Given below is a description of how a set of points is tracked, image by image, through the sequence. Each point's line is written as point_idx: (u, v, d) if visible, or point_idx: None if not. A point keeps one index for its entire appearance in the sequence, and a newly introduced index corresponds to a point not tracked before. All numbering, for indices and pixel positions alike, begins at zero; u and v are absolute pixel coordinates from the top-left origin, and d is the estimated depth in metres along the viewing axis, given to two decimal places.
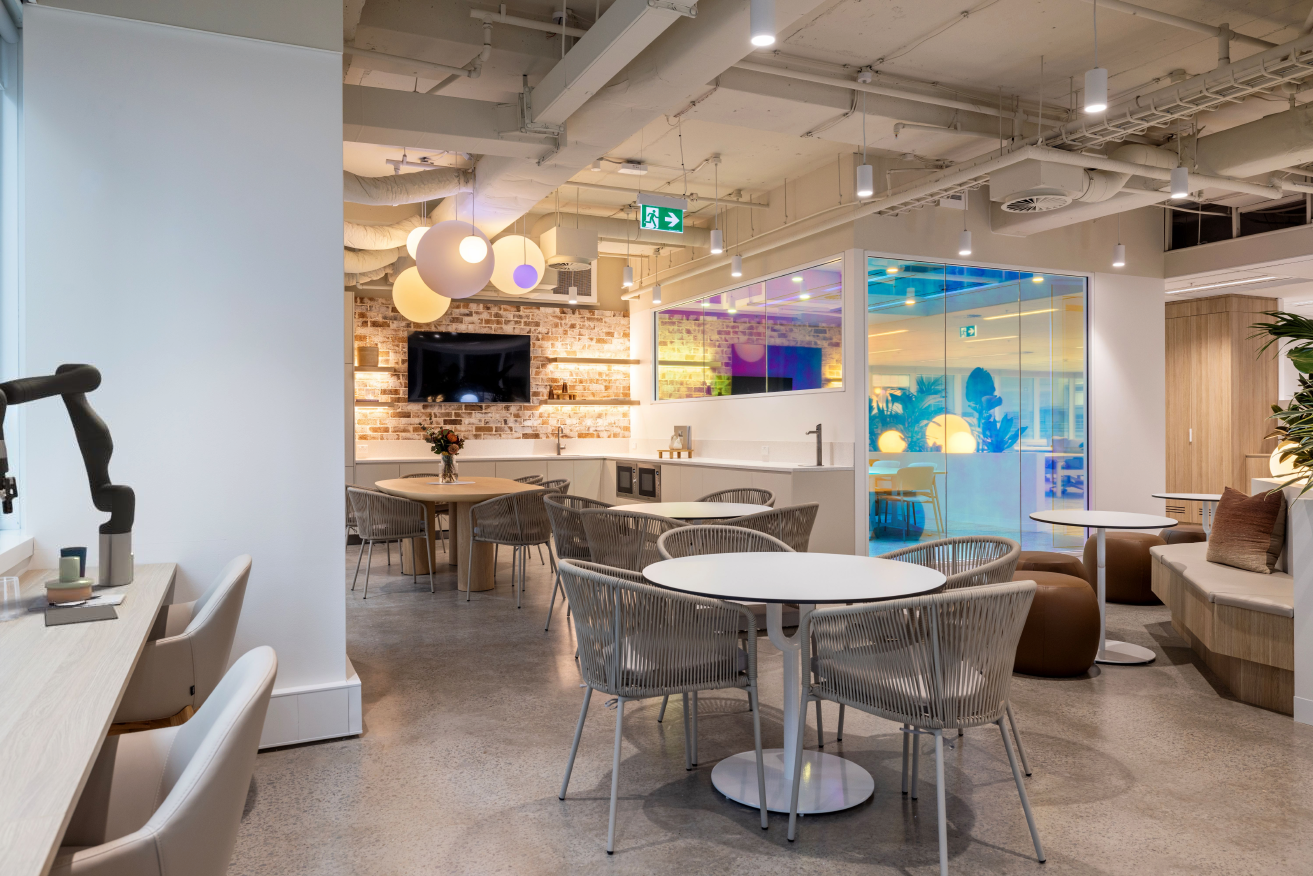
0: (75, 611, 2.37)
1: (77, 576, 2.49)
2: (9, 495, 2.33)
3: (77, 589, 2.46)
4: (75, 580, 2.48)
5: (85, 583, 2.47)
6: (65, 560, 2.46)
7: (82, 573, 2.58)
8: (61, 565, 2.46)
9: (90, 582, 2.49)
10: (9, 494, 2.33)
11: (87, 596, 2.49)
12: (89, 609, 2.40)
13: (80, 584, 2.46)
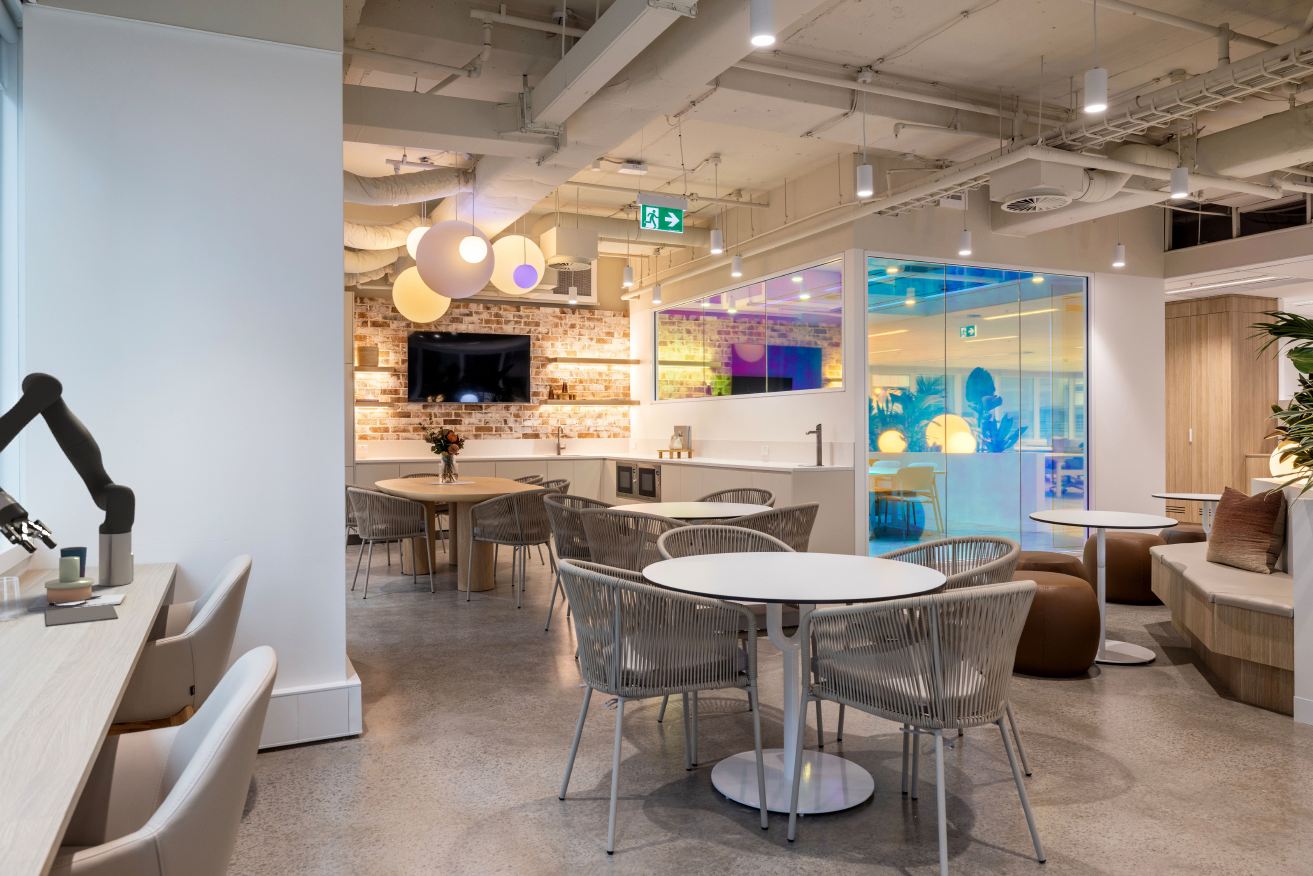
0: (75, 611, 2.37)
1: (77, 576, 2.49)
2: (11, 542, 2.41)
3: (77, 589, 2.46)
4: (75, 580, 2.48)
5: (85, 583, 2.47)
6: (65, 560, 2.46)
7: (82, 573, 2.58)
8: (61, 565, 2.46)
9: (90, 582, 2.49)
10: (10, 541, 2.41)
11: (87, 596, 2.49)
12: (89, 609, 2.40)
13: (80, 584, 2.46)
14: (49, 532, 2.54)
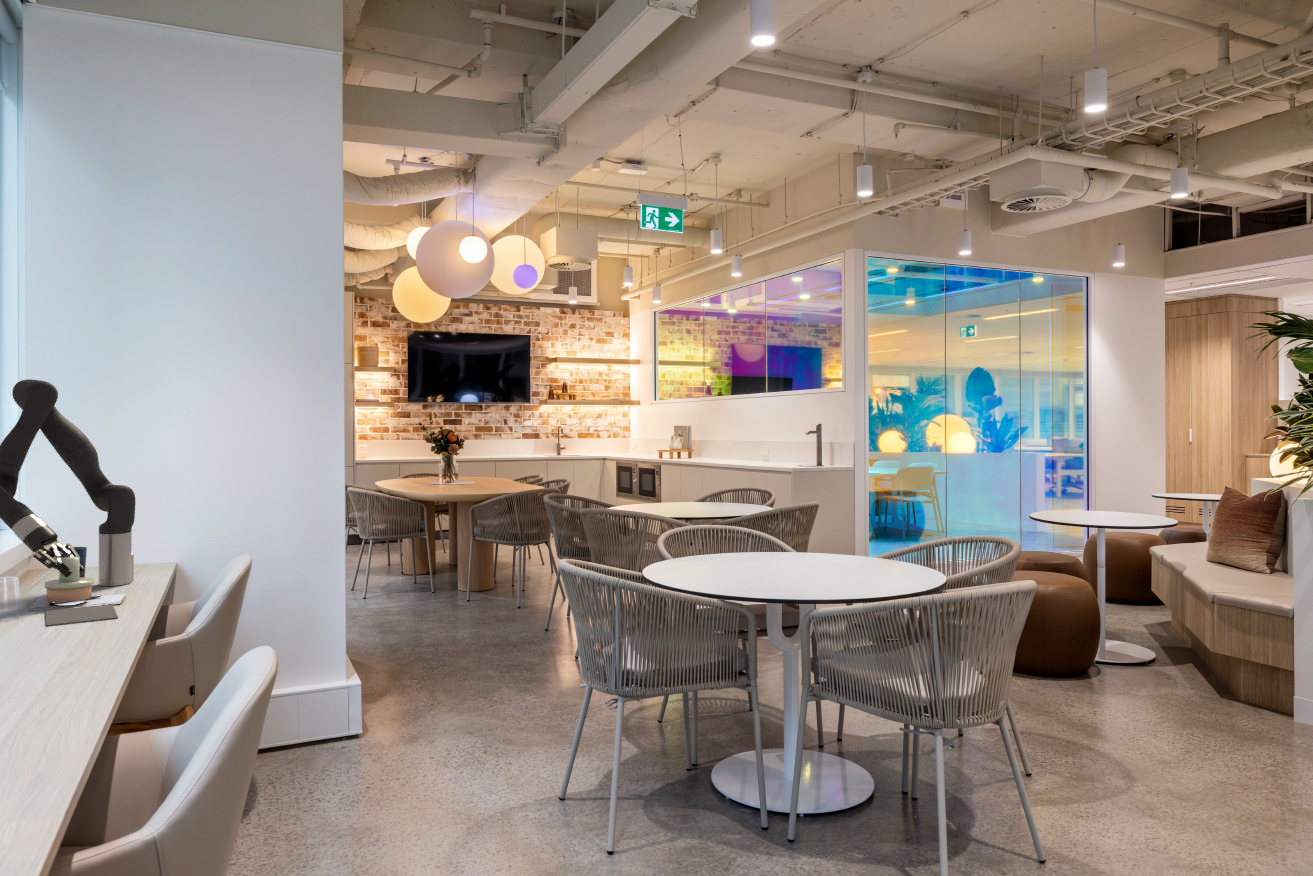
0: (75, 611, 2.37)
1: (77, 576, 2.48)
2: (47, 566, 2.43)
3: (77, 589, 2.46)
4: (75, 580, 2.48)
5: (85, 583, 2.47)
6: (65, 560, 2.46)
7: (82, 573, 2.58)
8: None
9: (90, 582, 2.49)
10: (46, 565, 2.43)
11: (87, 596, 2.49)
12: (89, 609, 2.40)
13: (80, 584, 2.46)
14: (76, 556, 2.53)
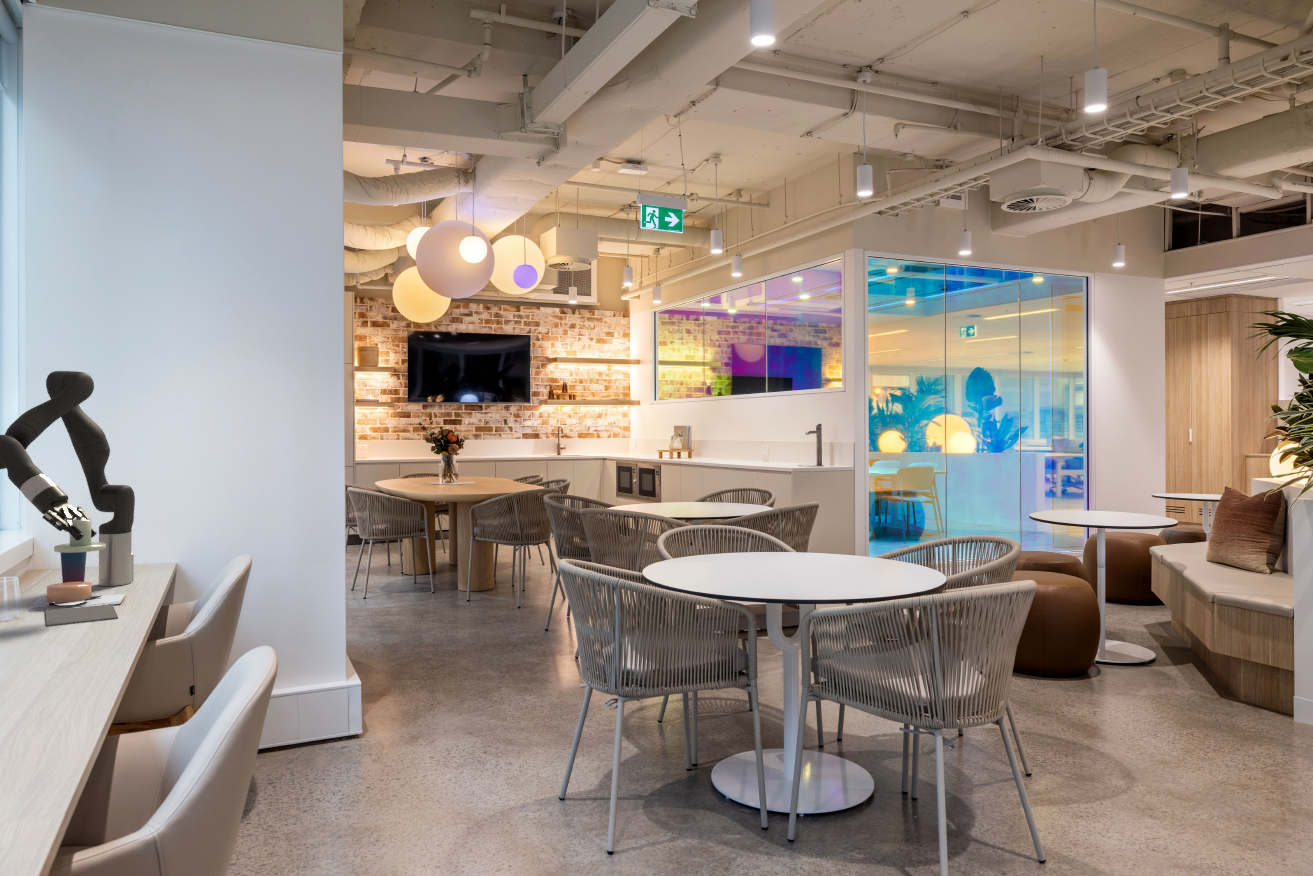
0: (75, 611, 2.37)
1: (89, 540, 2.34)
2: (57, 528, 2.29)
3: (77, 589, 2.46)
4: (86, 544, 2.34)
5: (97, 547, 2.33)
6: (76, 522, 2.32)
7: (82, 573, 2.58)
8: None
9: (102, 546, 2.35)
10: (57, 527, 2.29)
11: (87, 596, 2.49)
12: (89, 609, 2.40)
13: (92, 548, 2.32)
14: (88, 519, 2.39)
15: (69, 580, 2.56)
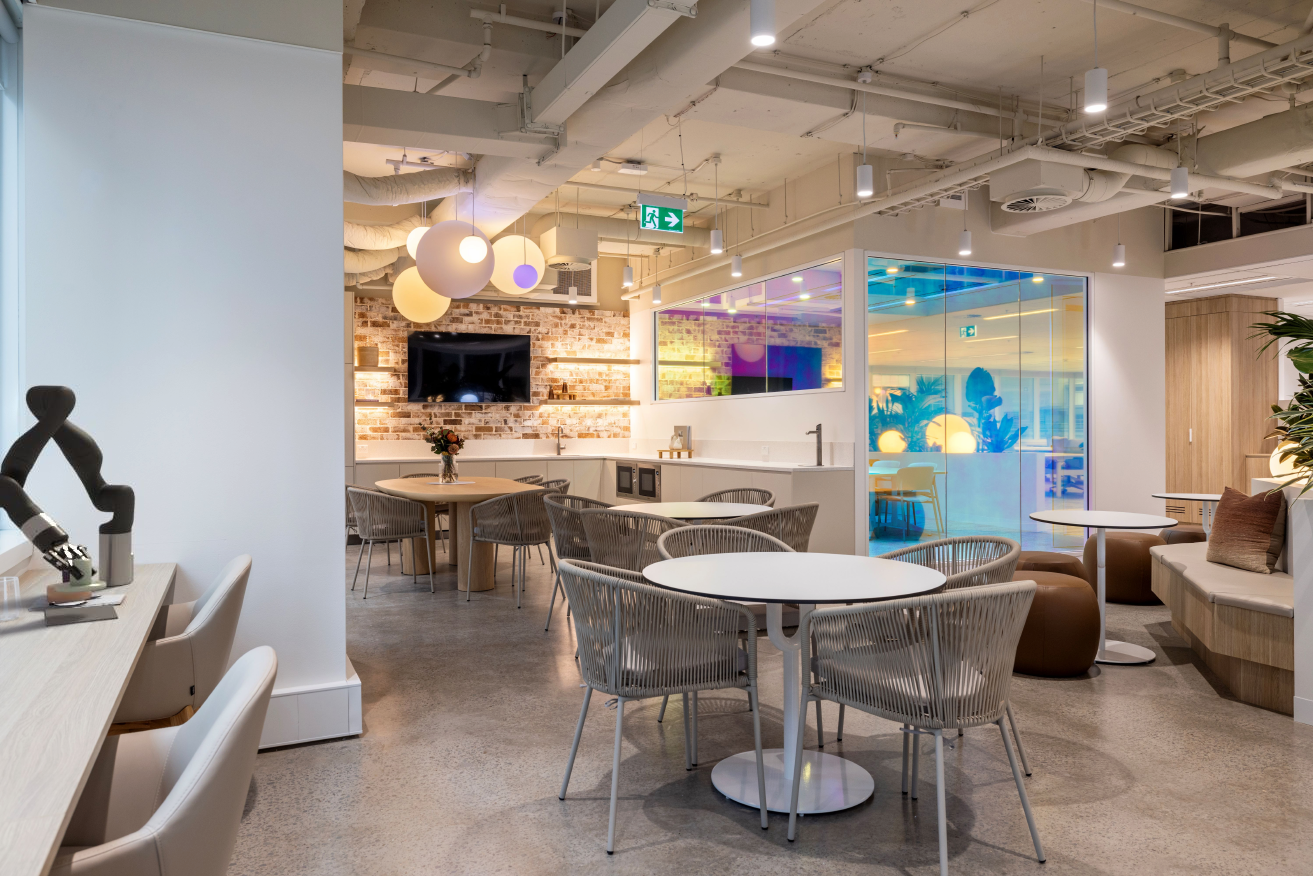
0: (75, 611, 2.37)
1: (89, 579, 2.34)
2: (58, 568, 2.29)
3: None
4: (87, 583, 2.34)
5: (97, 586, 2.33)
6: (76, 562, 2.32)
7: None
8: None
9: (103, 585, 2.35)
10: (57, 567, 2.29)
11: (87, 596, 2.49)
12: (89, 609, 2.40)
13: (92, 588, 2.32)
14: None
15: (69, 580, 2.56)
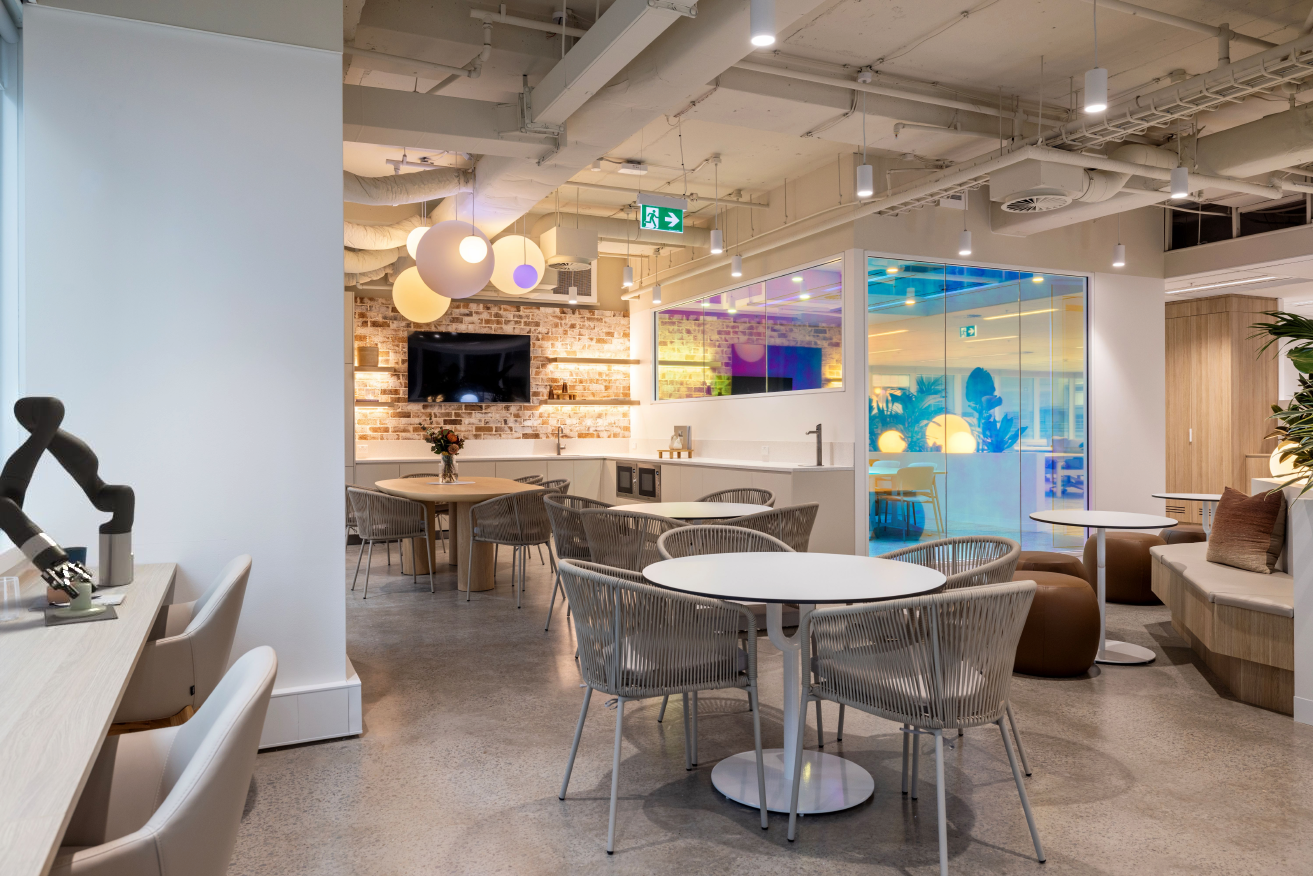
0: None
1: (89, 604, 2.35)
2: (53, 588, 2.28)
3: None
4: (87, 608, 2.34)
5: (97, 611, 2.33)
6: (76, 587, 2.32)
7: None
8: None
9: (103, 610, 2.35)
10: (52, 587, 2.28)
11: None
12: None
13: (92, 612, 2.32)
14: (90, 575, 2.40)
15: (69, 580, 2.56)
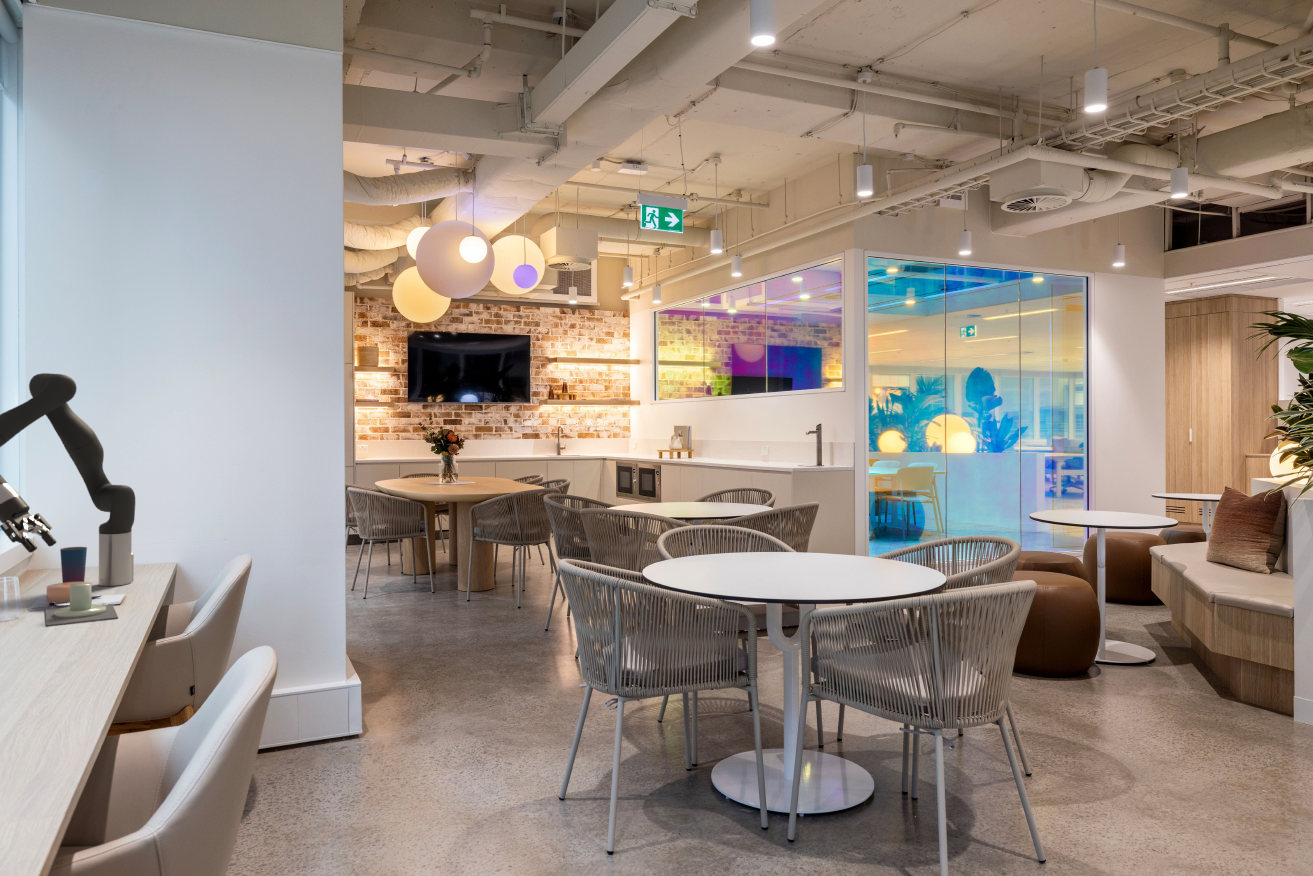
0: None
1: (89, 604, 2.35)
2: (11, 540, 2.31)
3: None
4: (87, 608, 2.34)
5: (97, 611, 2.33)
6: (76, 587, 2.32)
7: (82, 573, 2.58)
8: (71, 592, 2.32)
9: (103, 610, 2.35)
10: (10, 539, 2.31)
11: None
12: None
13: (92, 612, 2.32)
14: (49, 528, 2.44)
15: (69, 580, 2.56)
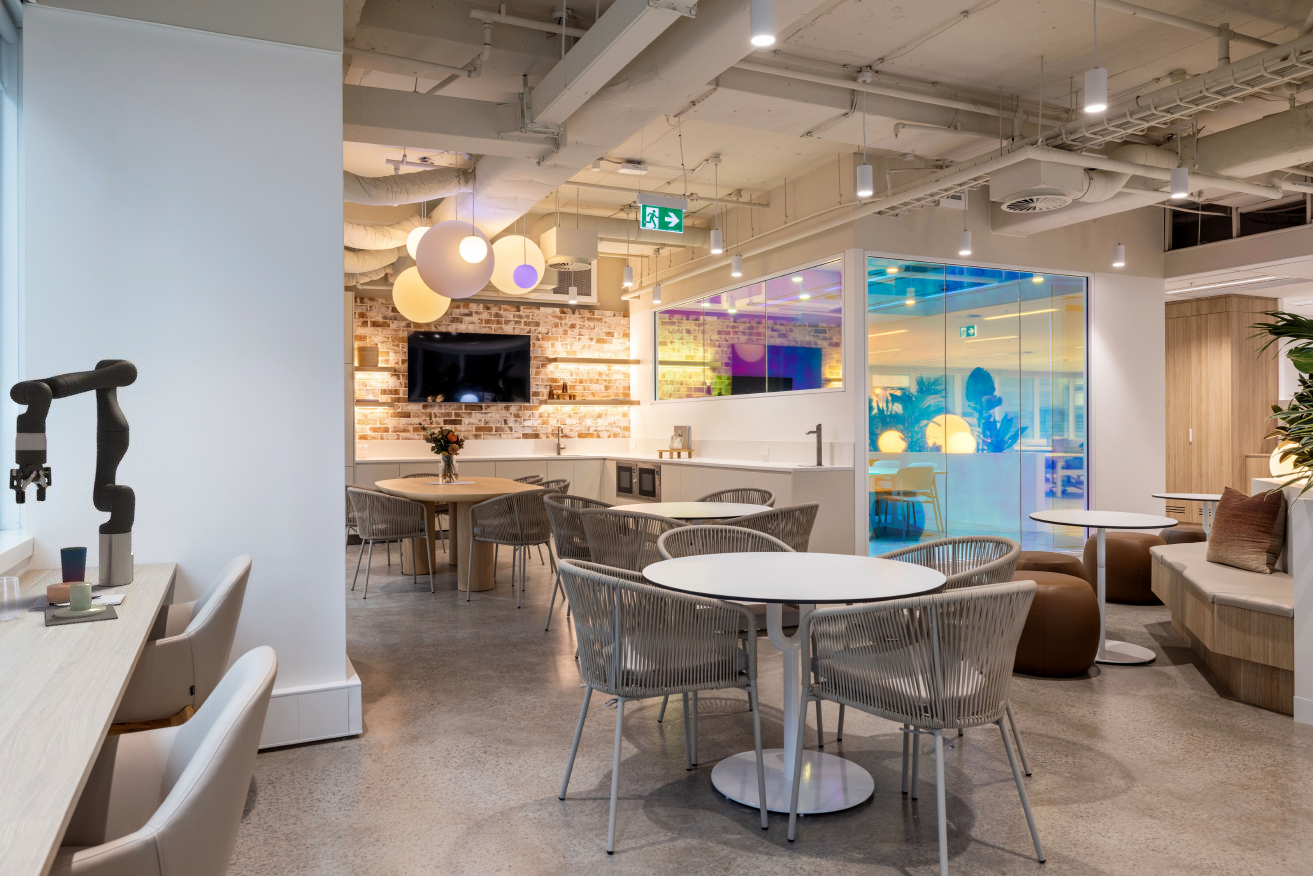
0: None
1: (89, 604, 2.35)
2: (10, 486, 2.42)
3: None
4: (87, 608, 2.34)
5: (97, 611, 2.33)
6: (76, 587, 2.32)
7: (82, 573, 2.58)
8: (71, 592, 2.32)
9: (103, 610, 2.35)
10: (10, 485, 2.42)
11: None
12: None
13: (92, 612, 2.32)
14: (48, 484, 2.55)
15: (69, 580, 2.56)
